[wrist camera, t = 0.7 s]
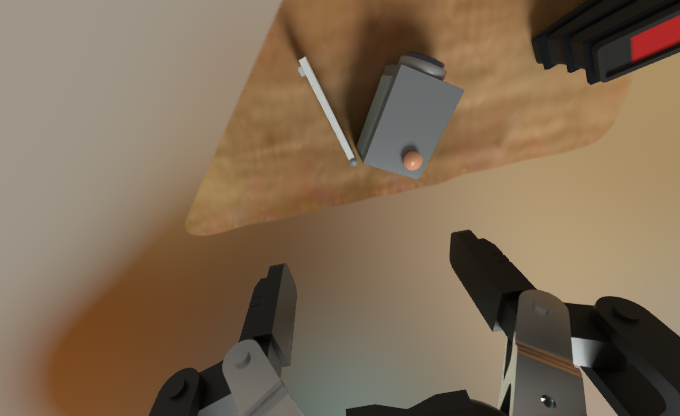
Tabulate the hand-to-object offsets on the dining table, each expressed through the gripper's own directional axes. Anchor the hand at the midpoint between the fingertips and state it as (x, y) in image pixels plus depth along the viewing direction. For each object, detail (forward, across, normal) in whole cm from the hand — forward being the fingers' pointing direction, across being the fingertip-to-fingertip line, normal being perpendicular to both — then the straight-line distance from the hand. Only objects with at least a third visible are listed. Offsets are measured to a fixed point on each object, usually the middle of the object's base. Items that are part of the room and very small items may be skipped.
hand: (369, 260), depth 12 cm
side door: (+23, +1, -3) cm, 23 cm away
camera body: (+23, -7, -1) cm, 24 cm away
